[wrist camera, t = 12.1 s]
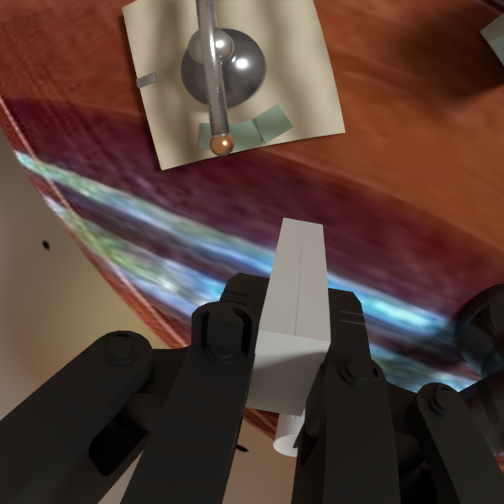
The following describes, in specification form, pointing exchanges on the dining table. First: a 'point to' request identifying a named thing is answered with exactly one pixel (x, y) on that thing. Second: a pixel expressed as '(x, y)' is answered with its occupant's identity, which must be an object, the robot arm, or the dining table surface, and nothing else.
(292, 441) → the white cup
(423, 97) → the dining table surface
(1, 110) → the dining table surface
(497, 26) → the teal faceted polyhedron
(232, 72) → the lever
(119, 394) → the robot arm
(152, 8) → the stand
